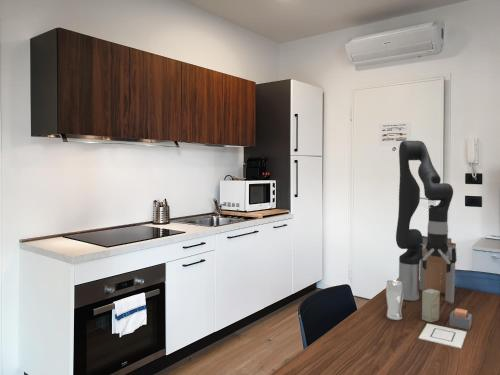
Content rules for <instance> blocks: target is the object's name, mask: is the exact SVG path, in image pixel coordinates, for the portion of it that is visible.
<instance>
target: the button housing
mask: <svg viewBox="0 0 500 375" xmlns="http://www.w3.org/2000/svg"><path fill="white" fill-rule="evenodd" d="M454 311H455V310H452V311H451V312H450V315H449V323H448V324H449V327H452V328H453V327H454V328H458V329H464V330H467V331H470V329H471V326H472V319H473V318H472V317H473V315H472V314H471V313H467V318H462V317H457V316H454Z"/></svg>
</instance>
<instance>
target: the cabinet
mask: <svg viewBox="0 0 500 375" xmlns="http://www.w3.org/2000/svg"><path fill="white" fill-rule="evenodd" d="M422 238H423V245H427V235H422ZM456 245H457V244H456V243H453V242H452V238H451V237H450V238H449V237H448V241H447V246H448V248H454V247H455V248H456V249H457V246H456ZM427 253H428V250H427V249H426V248H425V249H424V250H423V253H422V256H425V255H426V254H427ZM446 254H447V255H448V257H449V258H450V260H452V253H450V251H449V250H448V251H447V252H446ZM426 260H427V269H426V270H424V268H423V267H422V262H423V261H422V259H420V274H419V292H423V291H424V290H427V289H434V290H438V291H440V299H439V300H442V301H443V302H446V303H448V304H450V305H452V304H453V305H454V304H455V286H456V285H455V283H456V280H455V279H456V278H455V277H456V262H455V263H452V264H451V271H450V272H449V273H446V268H447V262H446V261H445V259H444V258H443V257H437V256H432V255H430V256H429V257H428V258H427V259H426Z"/></svg>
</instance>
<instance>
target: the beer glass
mask: <svg viewBox="0 0 500 375" xmlns="http://www.w3.org/2000/svg"><path fill="white" fill-rule="evenodd" d="M385 296H386V304H387V312H386V318H388V319H389V320H392V321H399V320H402V319H403V315H402V306H403V302H404V299H403V296H404V287H403V282H401V281H398V279H390V280H387V281H386V289H385Z"/></svg>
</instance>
